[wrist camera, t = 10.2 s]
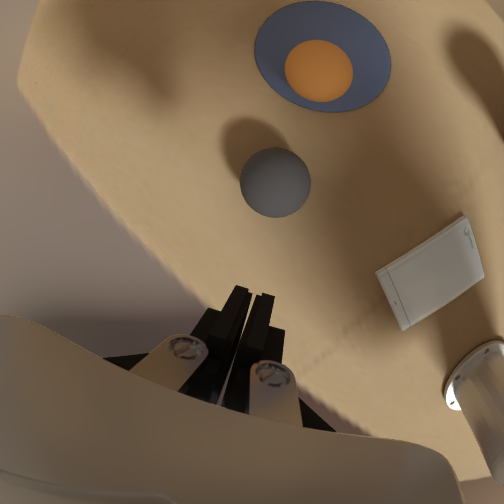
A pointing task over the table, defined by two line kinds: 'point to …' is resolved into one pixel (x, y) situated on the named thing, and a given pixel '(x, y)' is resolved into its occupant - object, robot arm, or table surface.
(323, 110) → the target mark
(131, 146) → the table surface
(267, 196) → the gray ball
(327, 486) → the robot arm
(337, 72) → the object ball
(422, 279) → the hard drive
